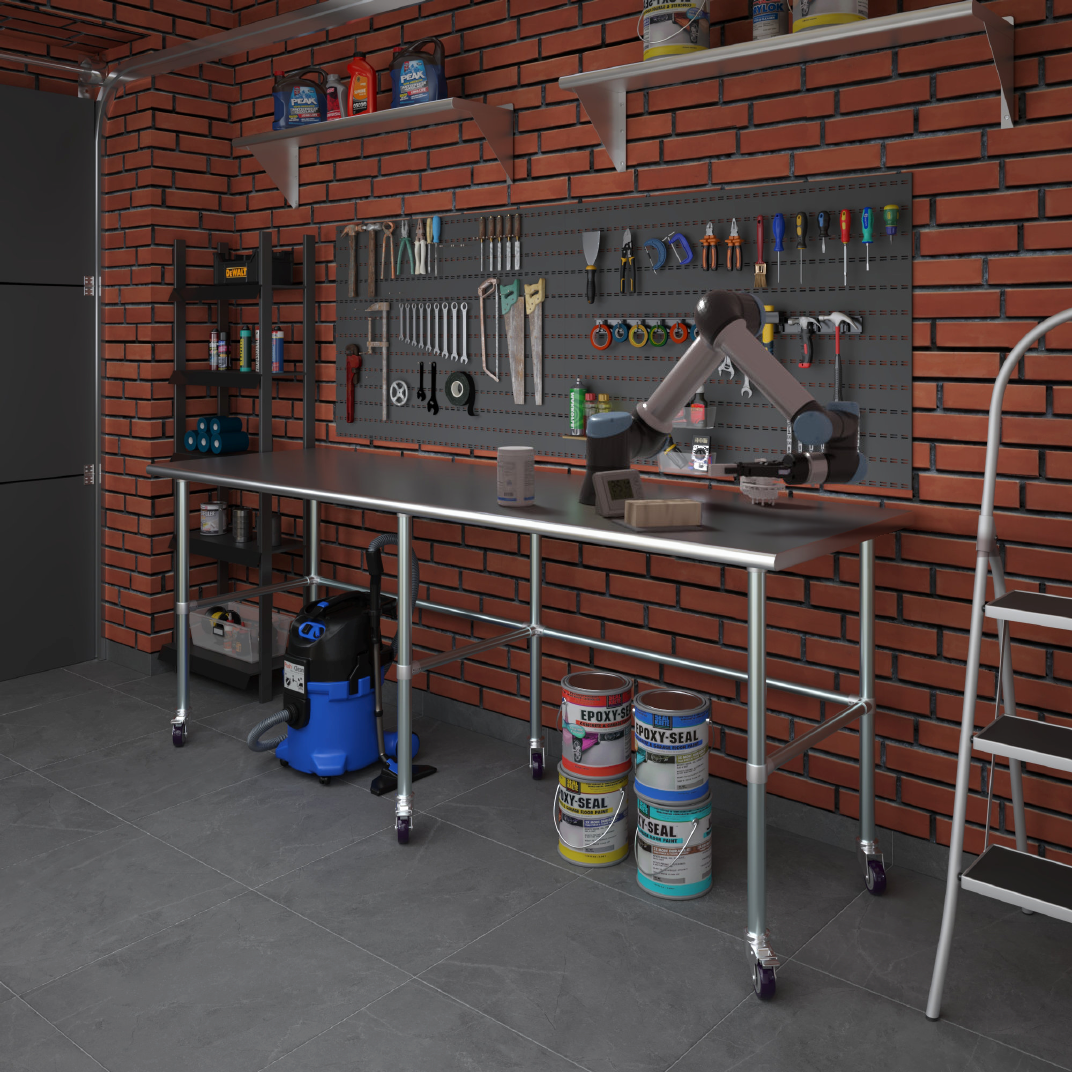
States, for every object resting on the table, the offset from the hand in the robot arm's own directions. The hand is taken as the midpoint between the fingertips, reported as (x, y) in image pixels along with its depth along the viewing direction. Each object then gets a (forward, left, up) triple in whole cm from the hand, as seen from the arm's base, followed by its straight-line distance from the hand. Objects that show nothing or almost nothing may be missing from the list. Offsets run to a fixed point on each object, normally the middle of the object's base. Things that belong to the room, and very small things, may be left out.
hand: (709, 470), depth 237 cm
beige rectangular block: (-1, -3, -10) cm, 10 cm away
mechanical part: (-30, +30, -13) cm, 44 cm away
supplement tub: (-40, -35, -13) cm, 55 cm away
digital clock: (-19, -14, -13) cm, 27 cm away
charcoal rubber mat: (-1, -13, -12) cm, 18 cm away
